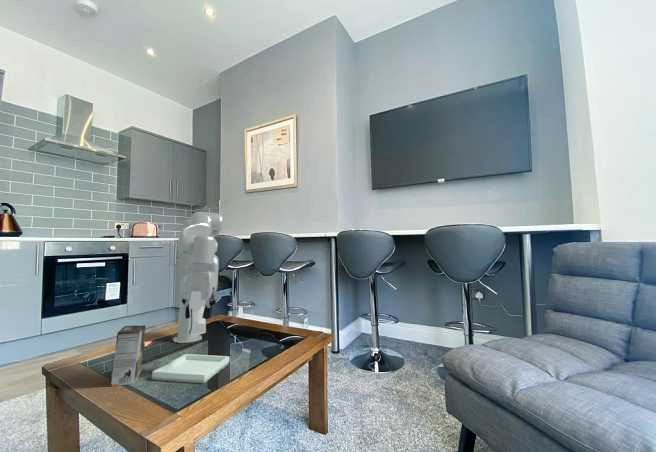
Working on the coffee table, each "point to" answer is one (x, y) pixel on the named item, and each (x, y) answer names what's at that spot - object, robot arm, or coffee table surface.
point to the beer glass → (197, 314)
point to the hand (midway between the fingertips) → (198, 317)
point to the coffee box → (128, 355)
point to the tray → (191, 368)
